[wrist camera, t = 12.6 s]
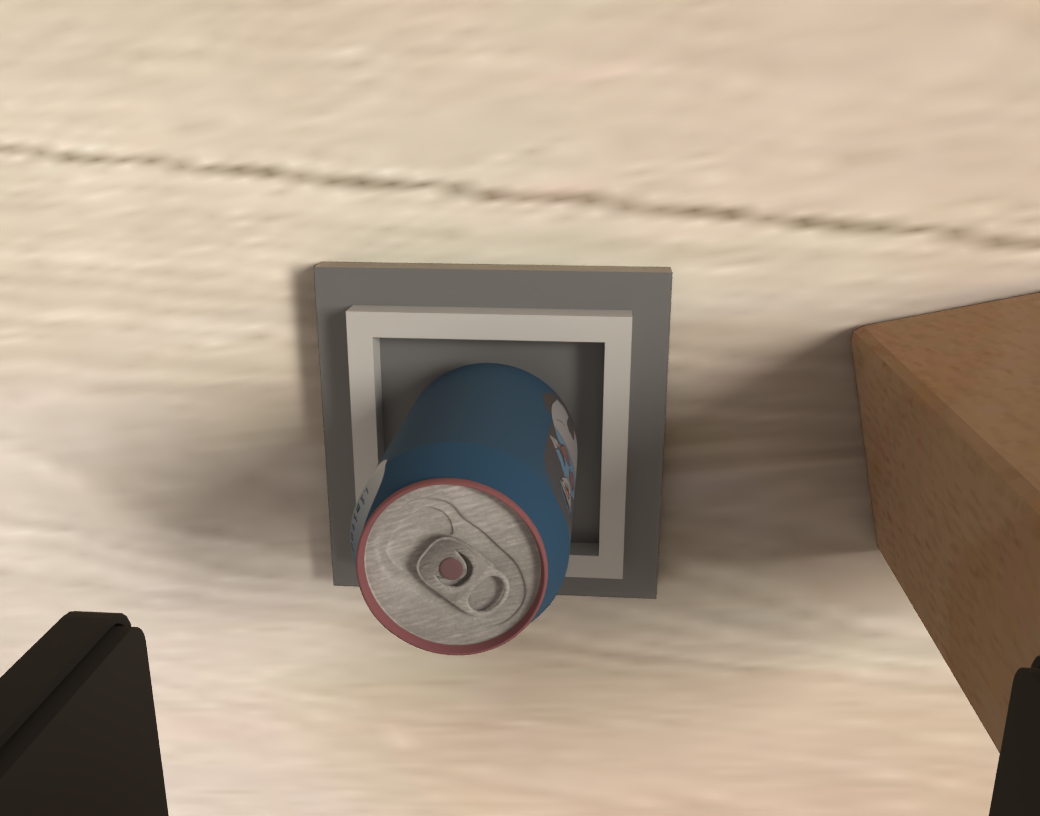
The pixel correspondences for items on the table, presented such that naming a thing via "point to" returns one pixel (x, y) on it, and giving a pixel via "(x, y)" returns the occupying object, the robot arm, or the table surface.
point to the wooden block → (960, 482)
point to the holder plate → (519, 343)
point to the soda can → (469, 512)
